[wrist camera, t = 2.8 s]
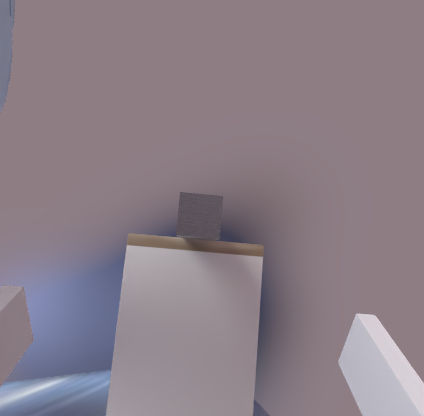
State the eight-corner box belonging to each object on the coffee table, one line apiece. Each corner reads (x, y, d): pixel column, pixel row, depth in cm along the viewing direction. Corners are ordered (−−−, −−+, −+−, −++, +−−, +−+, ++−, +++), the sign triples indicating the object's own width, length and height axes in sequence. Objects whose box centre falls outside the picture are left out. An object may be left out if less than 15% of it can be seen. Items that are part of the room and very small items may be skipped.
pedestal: (242, 576, 26) (263, 245, 30) (86, 570, 26) (128, 233, 29) (225, 451, 42) (240, 244, 46) (128, 445, 41) (152, 237, 45)
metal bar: (219, 239, 20) (222, 196, 20) (175, 235, 20) (180, 192, 20) (206, 241, 46) (207, 223, 46) (187, 240, 45) (189, 221, 46)
